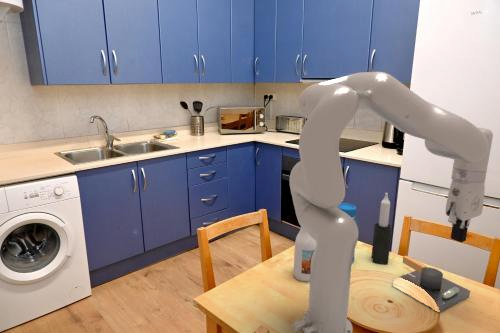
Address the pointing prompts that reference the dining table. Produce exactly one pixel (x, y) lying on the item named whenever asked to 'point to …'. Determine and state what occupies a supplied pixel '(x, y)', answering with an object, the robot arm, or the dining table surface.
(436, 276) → the grey rubber mallet
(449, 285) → the base
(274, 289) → the dining table surface
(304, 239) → the milk bottle
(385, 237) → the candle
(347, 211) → the beverage bottle
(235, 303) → the dining table surface
